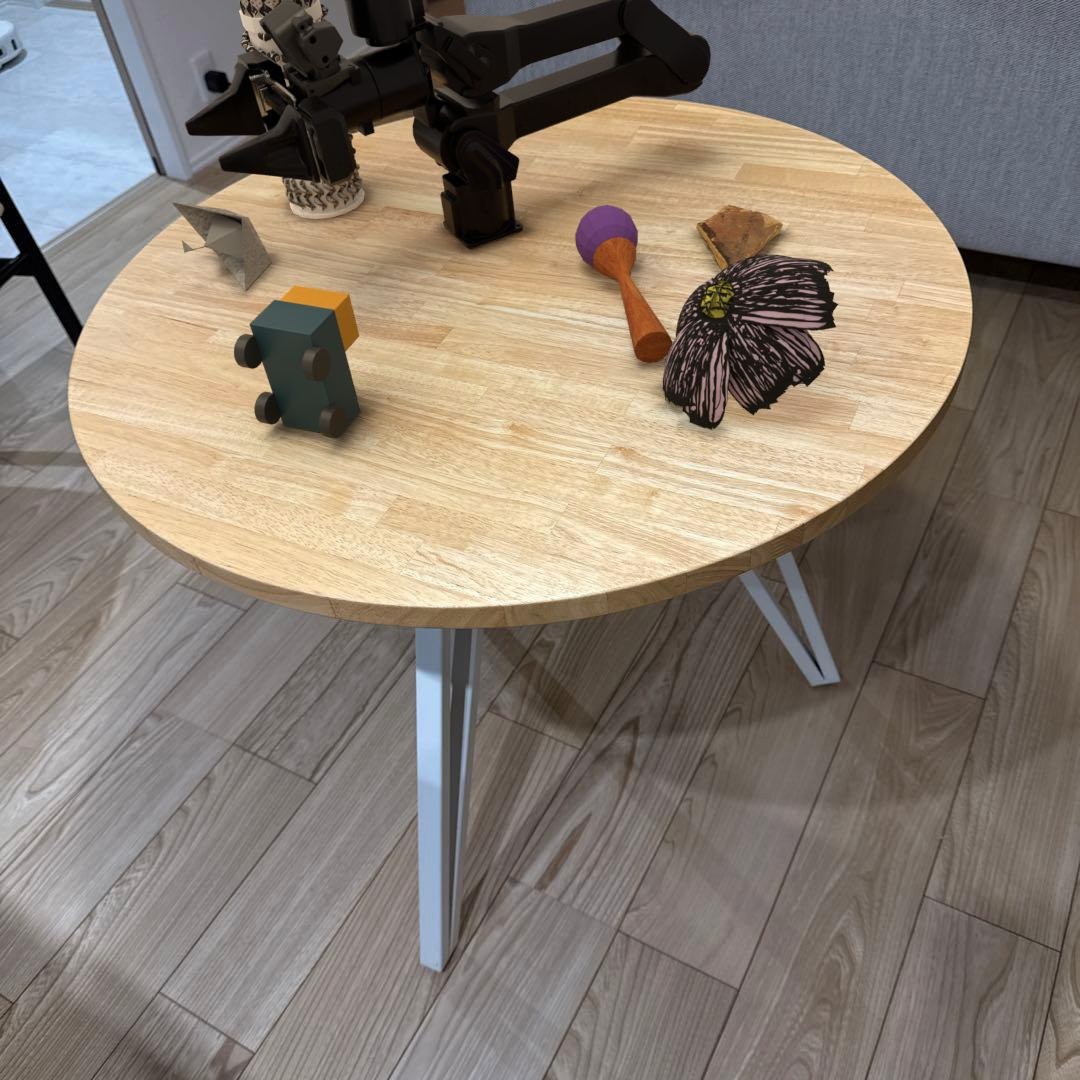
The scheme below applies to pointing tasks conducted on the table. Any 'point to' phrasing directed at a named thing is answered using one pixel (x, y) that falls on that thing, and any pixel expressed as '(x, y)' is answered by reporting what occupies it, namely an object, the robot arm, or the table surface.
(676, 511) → the table surface
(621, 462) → the table surface
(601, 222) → the purple and orange maraca
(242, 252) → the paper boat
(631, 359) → the table surface
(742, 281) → the decorative flower
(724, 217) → the shard
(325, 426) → the toy truck
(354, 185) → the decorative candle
